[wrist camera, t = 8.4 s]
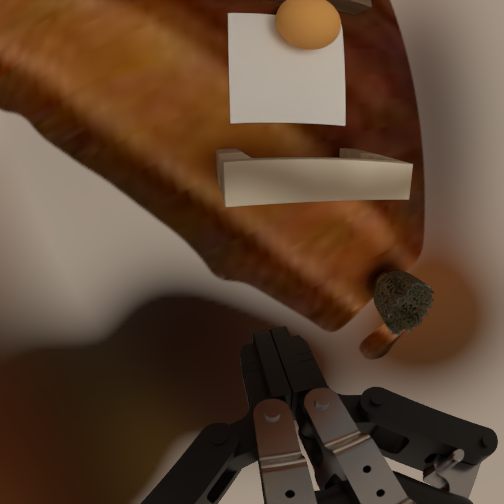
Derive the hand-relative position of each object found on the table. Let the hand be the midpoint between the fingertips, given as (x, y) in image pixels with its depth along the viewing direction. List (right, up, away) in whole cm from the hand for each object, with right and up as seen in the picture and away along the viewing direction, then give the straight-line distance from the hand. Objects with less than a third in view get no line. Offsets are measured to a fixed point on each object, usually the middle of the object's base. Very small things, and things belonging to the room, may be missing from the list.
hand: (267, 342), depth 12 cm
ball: (+4, +25, +6) cm, 26 cm away
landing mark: (+3, +22, +11) cm, 25 cm away
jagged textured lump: (+17, 0, +24) cm, 30 cm away
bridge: (+3, +13, +15) cm, 20 cm away
